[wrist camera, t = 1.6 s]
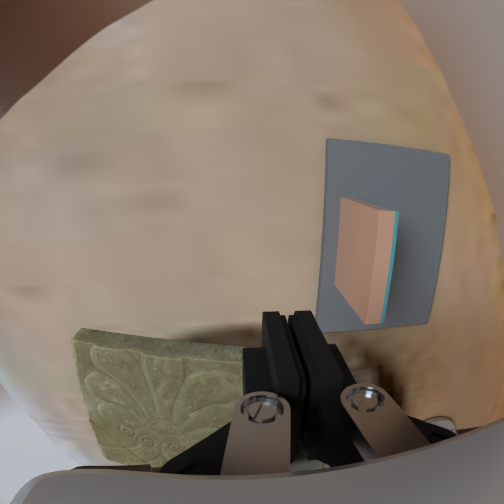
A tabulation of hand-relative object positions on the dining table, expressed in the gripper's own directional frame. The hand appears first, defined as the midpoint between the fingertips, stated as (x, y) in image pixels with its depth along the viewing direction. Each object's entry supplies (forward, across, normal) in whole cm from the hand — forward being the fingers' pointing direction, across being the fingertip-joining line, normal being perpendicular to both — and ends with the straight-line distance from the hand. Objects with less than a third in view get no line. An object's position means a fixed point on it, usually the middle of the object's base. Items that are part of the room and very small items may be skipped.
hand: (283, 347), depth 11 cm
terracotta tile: (+17, -8, 0) cm, 19 cm away
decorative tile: (+19, +10, +20) cm, 29 cm away
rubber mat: (+18, -13, 0) cm, 22 cm away
